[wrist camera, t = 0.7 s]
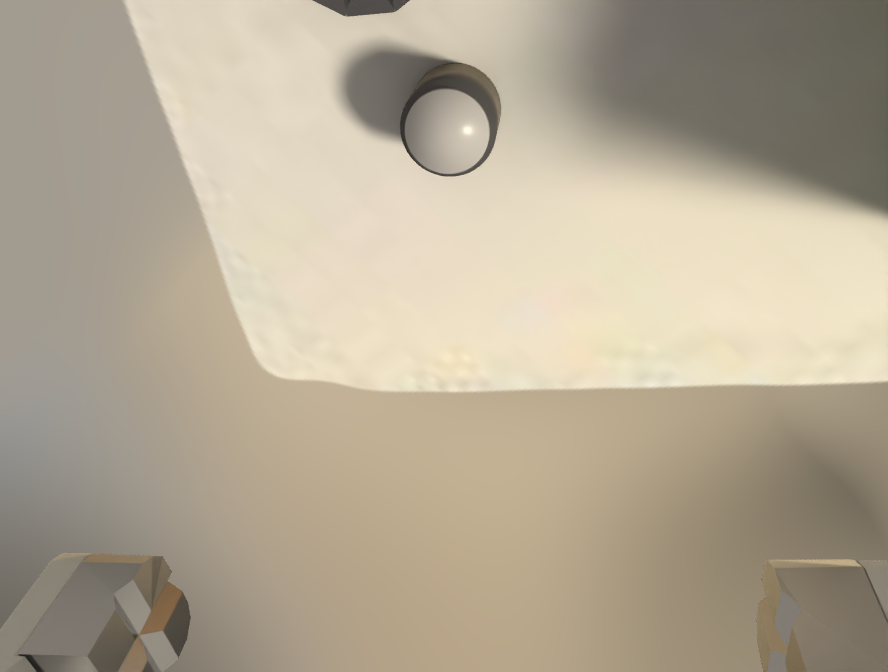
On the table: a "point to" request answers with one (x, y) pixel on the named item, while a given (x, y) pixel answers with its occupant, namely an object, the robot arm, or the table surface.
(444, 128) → the cap
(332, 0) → the grey ashtray
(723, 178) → the table surface
